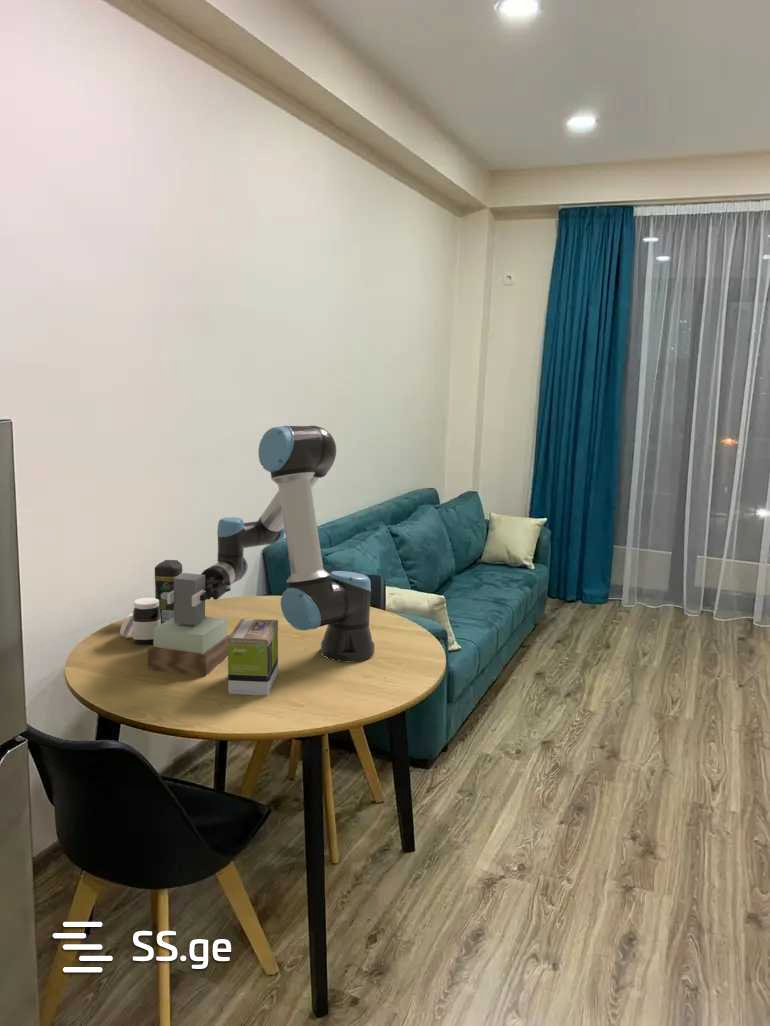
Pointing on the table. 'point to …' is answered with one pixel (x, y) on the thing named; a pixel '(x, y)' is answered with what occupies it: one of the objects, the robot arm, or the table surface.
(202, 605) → the gray block
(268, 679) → the tea box
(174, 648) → the sage block
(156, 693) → the table surface
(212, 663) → the walnut block
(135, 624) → the spread jar
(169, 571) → the coffee jar
